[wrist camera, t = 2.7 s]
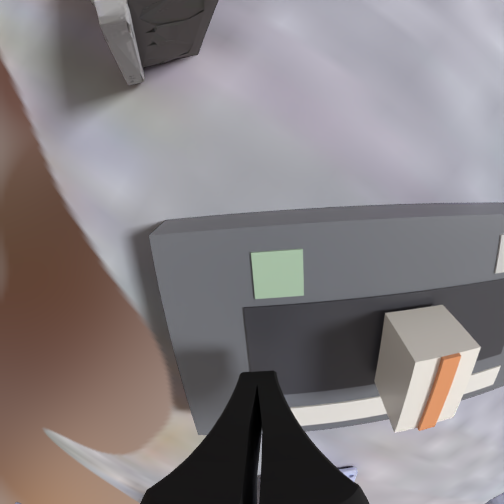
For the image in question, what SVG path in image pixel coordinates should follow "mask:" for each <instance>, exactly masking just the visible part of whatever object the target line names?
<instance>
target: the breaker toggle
mask: <svg viewBox="0 0 504 504" xmlns="http://www.w3.org/2000/svg"><path fill="white" fill-rule="evenodd" d="M480 348H481V347H480V346H479V344H478V343H477V342H476V341H475V340H474V339H473V338H472V336H471V335H470V334H469V333H468V332H467V331H466V330H465V328H464V327H463V326H462V325H461V324H460V323H459V322H458V321H457V320H456V319H455V317H454V316H453V315H452V314H451V313H450V312H449V311H448V310H447V309H446V308H445V307H444V306H443V305H437V306H431V307H424V308H417V309H410V310H403V311H396V312H388V313H385V316H384V324H383V332H382V339H381V345H380V352H379V358H378V364H377V369H376V375H375V380H374V382H375V384H376V387H377V389H378V392H379V394H380V397H381V399H382V402H383V404H384V407H385V410H386V412H387V415H388V417H389V420H390V422H391V425H392V428H393V430H394V433H397V432H401V431H406V430H410V429H414V428H418V430H419V431H420V430H424V429H427V428H431V427H435V425H436V422H440V421H443V420H446V419H450V418H453V417H454V415H455V413H456V410H457V408H458V406H459V404H460V401H461V399H462V397H463V394H464V392H465V389H466V387H467V384H468V382H469V379H470V376H471V374H472V371H473V368H474V366H475V363H476V360H477V357H478V354H479V351H480Z"/></svg>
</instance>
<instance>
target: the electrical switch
mask: <svg viewBox="0 0 504 504" xmlns="http://www.w3.org/2000/svg"><path fill="white" fill-rule="evenodd" d="M91 3H92V4H93V5H94V6H95V7H96V12H97V16H98V21H99V25H100V27H101V30H102V32H103V35H104V37H105V40H106V42H107V44H108V46H109V48H110V50H111V52H112V54H113V56H114V58H115V60H116V62H117V64H118V66H119V68H120V71H121V73H122V75H123V77H124V79H125V80H126V82H127V84H128V85H132V84H137V83H142V82H144V79H145V77H144V71H143V67H146V66H151V65H156V64H161V63H165V62H168V61H170V60H173V59H177V58H182V57H188V56H194V55H198V53H199V50H200V48H201V45H202V42H203V39H204V36H205V34H206V31H207V28H208V26H209V23H210V20H211V18H212V15H213V13H214V10H215V8H216V5H217V3H218V0H91Z"/></svg>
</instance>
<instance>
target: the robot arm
mask: <svg viewBox="0 0 504 504" xmlns="http://www.w3.org/2000/svg"><path fill="white" fill-rule="evenodd" d="M261 431H262V464H261V485H260V501H259V504H369V502H368V500H367V498H366V496H365V494H364V492H363V491H362V489H361V487H360V486H359V485H358V484H356V483H355V482H354V481H355V478H356V475H357V468H355V467H351V468H345V469H338V468H337V467H336V466H334V465H333V464H332V463H331V462H330V461H329V460H328V459H327V458H326V457H325V455H324V454H323V453H322V452H321V451H320V450H319V449H318V448H317V447H316V446H315V444H314V443H313V442H312V441H311V439H310V438H309V437H308V436H307V434H306V433H305V431H304V430H303V429H302V427H301V426H300V424H299V423H298V421H297V419H296V418H295V416H294V414H293V413H292V411H291V409H290V407H289V405H288V403H287V401H286V399H285V397H284V395H283V393H282V390H281V388H280V385H279V382H278V378H277V372H275V371H274V370H273V371H255V372H242V373H241V374H240V375H239V379H238V382H237V384H236V387H235V389H234V391H233V393H232V396H231V398H230V399H229V401H228V403H227V405H226V407H225V409H224V411H223V412H222V414H221V416H220V417H219V419H218V420H217V422H216V423H215V425H214V427H213V428H212V429H211V431H210V432H209V433H208V435H207V436H206V437H205V439H204V440H203V441H202V442H201V444H200V445H199V446H198V447H197V448H196V449H195V450H194V451H193V452H192V454H191V455H190V456H189V457H188V458H187V459H186V460H185V461H184V462H182V463H181V464H180V465H179V466H178V467H177V468H176V469H175V470H173V471H172V472H171V473H170V474H169V475H167V476H166V477H165V478H163V479H162V480H161V481H159V482H158V483H156V484H155V485H153V486H152V487H151V488H149V489H148V490H147V491H146V493H145V495H144V497H143V499H142V501H141V503H140V504H257V471H258V461H259V452H260V442H261ZM15 504H21V503H19V502H16V503H15ZM486 504H504V493H502V494H500V495H498V496H496V497H495V498H493V499H491V500H490V501H488V502H487V503H486Z"/></svg>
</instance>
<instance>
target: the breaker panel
mask: <svg viewBox="0 0 504 504" xmlns="http://www.w3.org/2000/svg"><path fill="white" fill-rule="evenodd" d="M149 240H150V245H151V251H152V256H153V261H154V266H155V271H156V276H157V281H158V286H159V291H160V295H161V300H162V304H163V309H164V313H165V317H166V322H167V326H168V330H169V334H170V338H171V342H172V346H173V350H174V354H175V357H176V361H177V365H178V369H179V372H180V376H181V379H182V383H183V386H184V390H185V393H186V397H187V400H188V403H189V407H190V410H191V413H192V416H193V420H194V423H195V426H196V429H197V432H198V435H208V433H209V432H210V431H211V429H212V428H213V427H214V425H215V423H216V422H217V420H218V419H219V417H220V416H221V414H222V412H223V411H224V409H225V407H226V405H227V403H228V401H229V399H230V398H231V396H232V393H233V391H234V389H235V387H236V384H237V382H238V379H239V375H240V374H241V373H242V372H255V371H273V370H274V371H275V372H277V378H278V382H279V385H280V388H281V390H282V393H283V395H284V397H285V399H286V401H287V403H288V405H289V407H290V409H291V411H292V413H293V414H294V416H295V418H296V419H297V421H298V423H299V424H300V426H301V427H302V429H303V430H304V431H315V430H324V429H332V428H340V427H347V426H353V425H359V424H365V423H371V422H376V421H382V420H387V419H389V417H388V415H387V412H386V410H385V407H384V404H383V402H382V399H381V397H380V394H379V392H378V389H377V387H376V384H375V382H374V380H375V375H376V369H377V364H378V358H379V352H380V345H381V339H382V332H383V324H384V316H385V313H388V312H396V311H403V310H410V309H417V308H424V307H431V306H437V305H443V306H444V307H445V308H446V309H447V310H448V311H449V312H450V313H451V314H452V315H453V316H454V317H455V319H456V320H457V321H458V322H459V323H460V324H461V325H462V326H463V327H464V328H465V330H466V331H467V332H468V333H469V334H470V335H471V336H472V338H473V339H474V340H475V341H476V342H477V343H478V344H479V346H480V347H481V348H480V351H479V354H478V357H477V360H476V363H475V366H474V368H473V371H472V374H471V376H470V379H469V382H468V384H467V387H466V389H465V392H464V394H463V397H462V399H461V400H464V399H468V398H471V397H474V396H477V395H480V394H483V393H485V392H488V391H491V390H494V389H496V388H499V387H502V386H504V203H432V204H397V205H371V206H349V207H329V208H312V209H295V210H280V211H266V212H252V213H240V214H227V215H215V216H204V217H193V218H182V219H172V220H165V221H164V222H163V223H162V224H161V225H160V226H159V227H158V228H156V229H155V230H154V231H153V232H152V233H151V234H150V235H149ZM261 435H262V431H261Z"/></svg>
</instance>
